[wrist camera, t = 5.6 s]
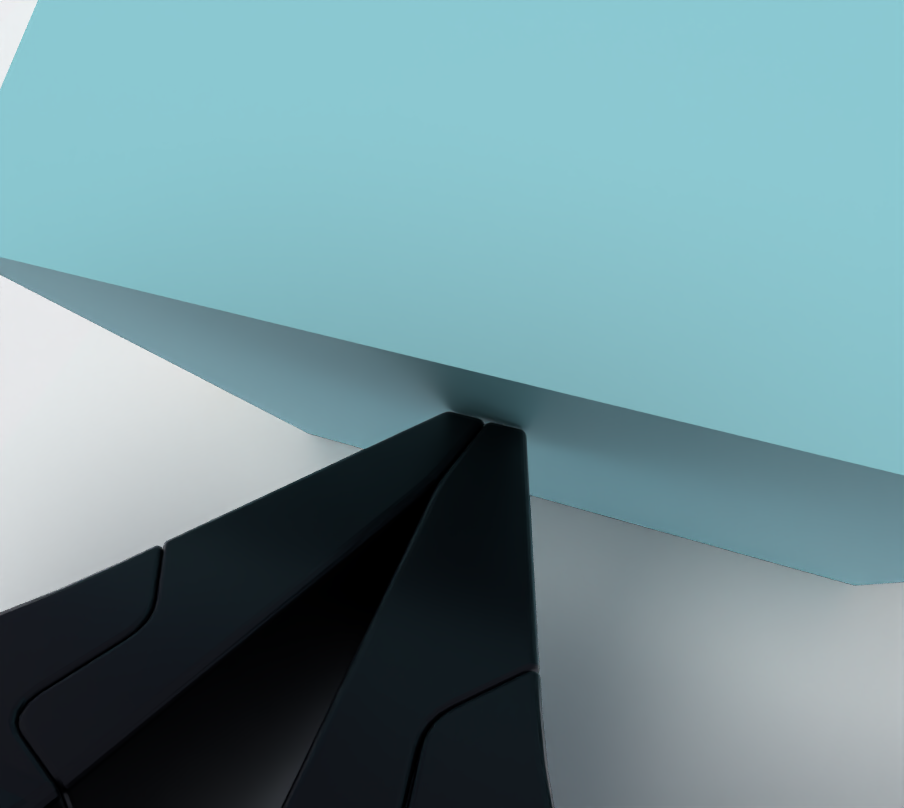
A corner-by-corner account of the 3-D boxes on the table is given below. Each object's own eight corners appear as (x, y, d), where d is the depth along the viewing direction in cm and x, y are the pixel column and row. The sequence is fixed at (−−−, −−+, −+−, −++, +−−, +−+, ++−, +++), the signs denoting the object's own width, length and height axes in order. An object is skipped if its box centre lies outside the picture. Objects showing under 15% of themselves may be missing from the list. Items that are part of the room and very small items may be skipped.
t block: (854, 585, 13) (1245, 557, 5) (308, 433, 16) (-65, 241, 7) (967, 48, 15) (1412, -684, 6) (455, -10, 18) (287, -585, 9)
